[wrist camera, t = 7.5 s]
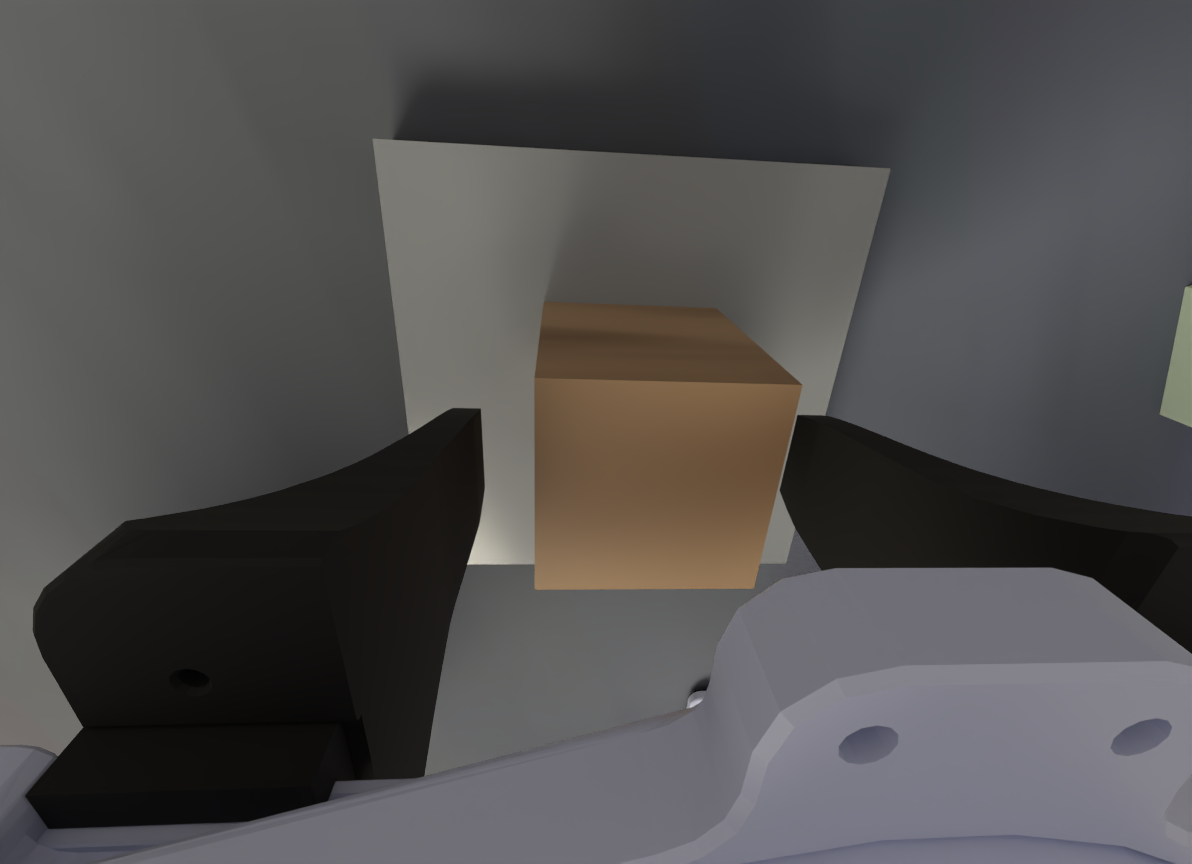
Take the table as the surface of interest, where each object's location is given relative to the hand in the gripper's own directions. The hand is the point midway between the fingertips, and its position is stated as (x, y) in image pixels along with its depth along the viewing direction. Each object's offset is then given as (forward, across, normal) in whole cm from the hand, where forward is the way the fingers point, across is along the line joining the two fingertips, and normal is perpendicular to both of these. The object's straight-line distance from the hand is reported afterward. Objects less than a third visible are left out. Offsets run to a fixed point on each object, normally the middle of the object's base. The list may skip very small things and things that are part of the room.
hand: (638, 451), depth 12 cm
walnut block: (+3, 0, 0) cm, 3 cm away
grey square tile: (+5, 0, 0) cm, 5 cm away
